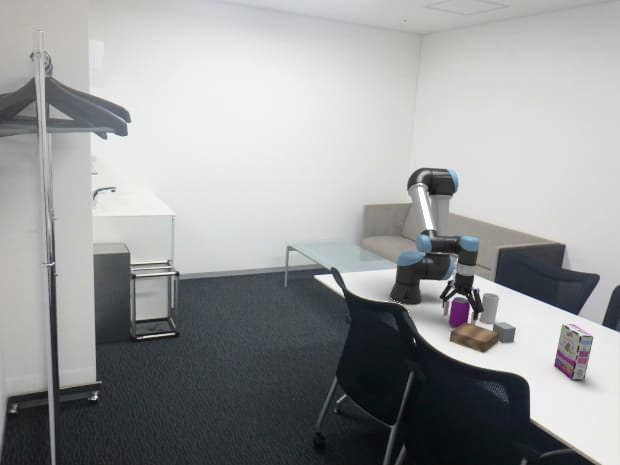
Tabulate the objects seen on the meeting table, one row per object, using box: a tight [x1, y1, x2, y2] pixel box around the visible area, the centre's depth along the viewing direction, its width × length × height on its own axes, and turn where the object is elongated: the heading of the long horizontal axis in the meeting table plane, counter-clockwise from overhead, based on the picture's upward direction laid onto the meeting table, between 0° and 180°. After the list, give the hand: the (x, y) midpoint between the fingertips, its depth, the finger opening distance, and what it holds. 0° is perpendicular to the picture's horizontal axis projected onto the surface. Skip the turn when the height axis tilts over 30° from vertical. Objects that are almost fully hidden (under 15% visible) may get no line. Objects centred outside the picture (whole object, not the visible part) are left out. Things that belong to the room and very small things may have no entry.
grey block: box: [492, 321, 517, 344], centre depth 199 cm, size 6×6×6 cm
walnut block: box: [449, 322, 499, 353], centre depth 194 cm, size 14×14×4 cm
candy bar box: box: [554, 323, 594, 381], centre depth 172 cm, size 11×5×16 cm, turn 5°
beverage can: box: [448, 296, 471, 329], centre depth 208 cm, size 8×8×12 cm
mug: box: [479, 292, 500, 324], centre depth 219 cm, size 10×7×12 cm, turn 178°
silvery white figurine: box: [447, 257, 458, 289], centre depth 266 cm, size 20×10×18 cm, turn 1°
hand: (458, 321), depth 209 cm, fingers open, 13 cm apart
